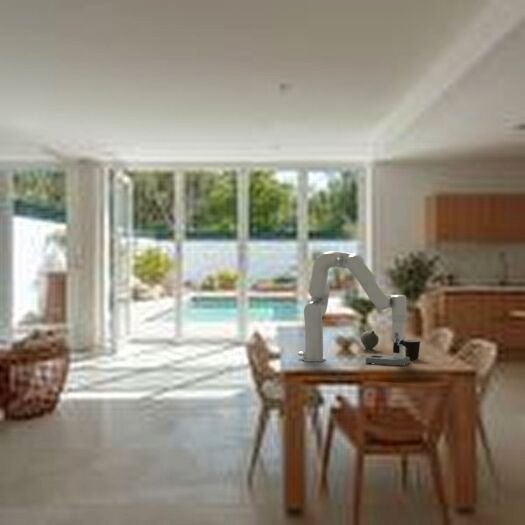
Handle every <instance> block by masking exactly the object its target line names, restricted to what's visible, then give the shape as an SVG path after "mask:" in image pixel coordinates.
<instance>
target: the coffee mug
mask: <svg viewBox="0 0 525 525" xmlns="http://www.w3.org/2000/svg"><path fill="white" fill-rule="evenodd" d="M404 340H405V357H410V361H417V360H416V359H418V360H419V355H420V347H421V340H419V339H404Z"/></svg>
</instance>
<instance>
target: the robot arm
mask: <svg viewBox="0 0 525 525" xmlns="http://www.w3.org/2000/svg"><path fill="white" fill-rule="evenodd" d="M331 268H342V269H348V271H349V272H350V273H351V274H352V276H353V277H354V278H355V279H356V281H357V282H358V283H359V285H360V286H361V288H362V289H363V292H364V293H365V294H366V296H367V297H368V299H369V300H370V301H371V302H372V303H373V305H374V306H375V307H376V308H377V309H378V310H380V311H381V310H382V311H383V310H386V309H390V308H391V322H392V324H391V341H392V354H395V353H399V352H400V345H403V346H405V340H406V322H407V297H406V295H404V294H387V293H384V292H383V290H382V289H381V288H380V287H379V285H378V283H377V280H376V276H375V275H374V274H373V272H372V271H371V270H370V268H369V267H368V266H367V265H366V263H365V259H364V257H363V256H362V255H360V254H358V253H350V252H346V251H339V250H334V251H332V250H331V251H327V252H324V253H322V254H320V255H319V256H317V258H316V259H315V260H314V263H313V268H312V271H311V276H310V277H311V278H310V282H309V283H310V284H309V288H308V293H309V296H310V297H311V298H310V301H309V302H307V304H306V305H305V306H304V307H303V308H304V309H303V316H304V351H298V356H302V358H301V359H302V361H303V360H304V362H310V361H319V362H325V361H326V360H327V358H326V357H325V356H324V329H323V328H324V327H323V326H324V325H323V324H324V323H323V316H325V314H326V312H327V309H328V303H329V299H330V292H331V288H330V285H329V284H328V283H327V282H328V276H329V270H330V269H331ZM399 344H400V345H399Z"/></svg>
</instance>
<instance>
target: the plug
mask: <svg viewBox="0 0 525 525" xmlns="http://www.w3.org/2000/svg"><path fill="white" fill-rule="evenodd" d="M399 345H400V344H399ZM394 354H395V355H394V356H395V359H404V358H405V357H406V354H405V346H403V345H400V352H399V353H394Z"/></svg>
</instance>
